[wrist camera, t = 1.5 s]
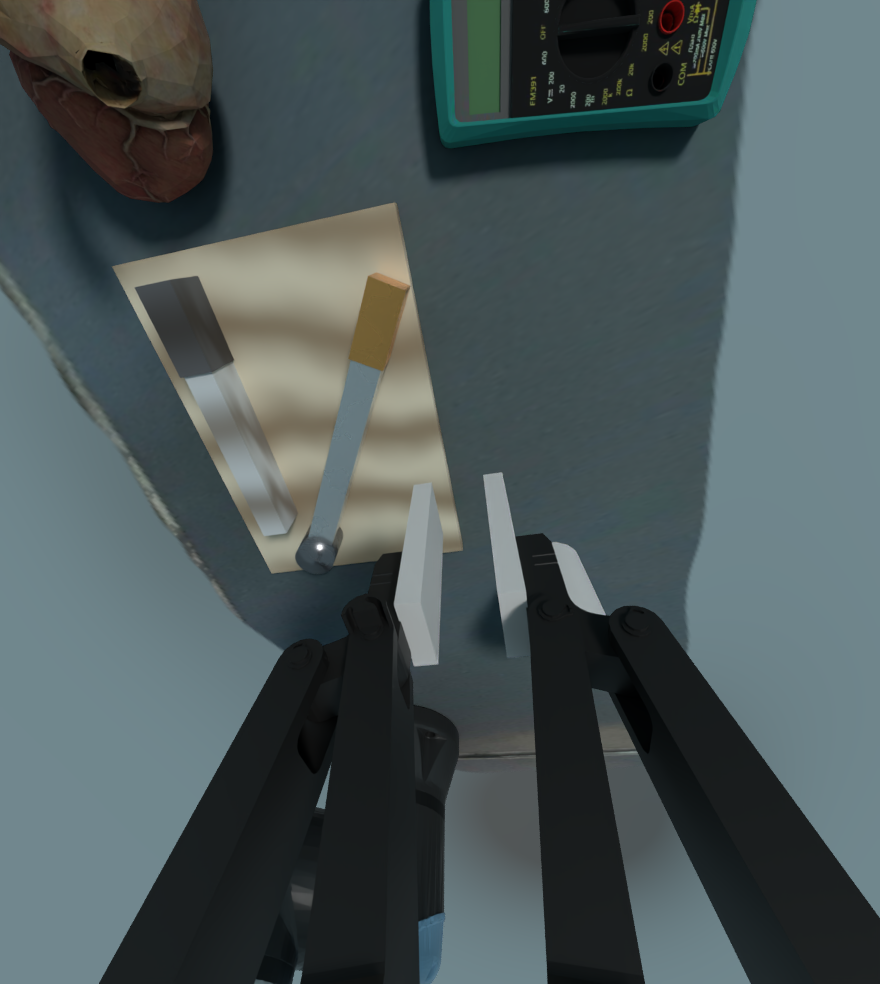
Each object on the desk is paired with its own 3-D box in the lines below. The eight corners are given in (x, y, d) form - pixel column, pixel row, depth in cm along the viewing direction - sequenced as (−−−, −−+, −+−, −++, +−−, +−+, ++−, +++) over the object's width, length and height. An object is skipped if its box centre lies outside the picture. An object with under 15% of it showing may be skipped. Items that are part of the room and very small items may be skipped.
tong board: (462, 543, 39) (463, 574, 36) (275, 566, 42) (258, 597, 38) (396, 203, 26) (387, 197, 22) (122, 265, 28) (73, 269, 24)
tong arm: (339, 551, 39) (329, 578, 36) (305, 541, 38) (292, 568, 35) (417, 288, 27) (412, 294, 24) (369, 269, 26) (358, 273, 23)
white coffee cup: (501, 561, 40) (514, 648, 32) (560, 526, 38) (591, 610, 29) (540, 599, 43) (561, 689, 34) (597, 568, 40) (635, 657, 32)
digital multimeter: (706, 127, 24) (738, 114, 21) (437, 151, 25) (435, 141, 22) (749, -82, 20) (794, -131, 17) (427, -44, 21) (423, -86, 18)
